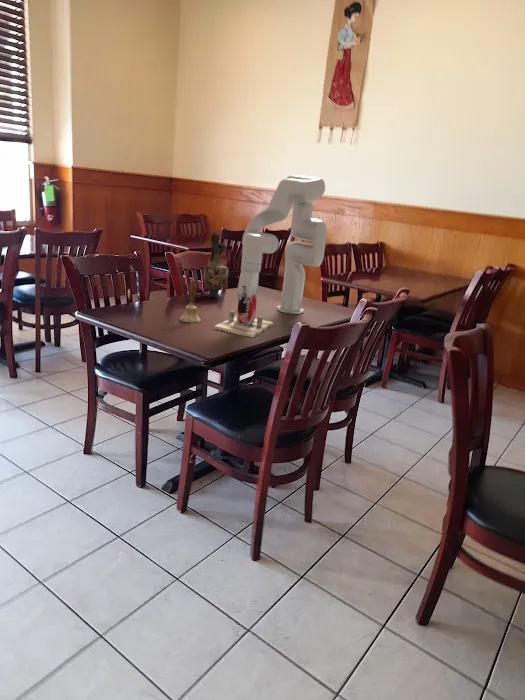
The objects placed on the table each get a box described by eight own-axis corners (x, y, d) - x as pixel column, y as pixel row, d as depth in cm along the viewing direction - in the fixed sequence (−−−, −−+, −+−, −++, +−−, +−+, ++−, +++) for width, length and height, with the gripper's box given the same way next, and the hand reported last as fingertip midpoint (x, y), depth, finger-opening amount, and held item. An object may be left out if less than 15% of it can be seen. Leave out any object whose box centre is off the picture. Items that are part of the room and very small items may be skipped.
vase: (207, 299, 236) (212, 234, 226) (197, 293, 246) (202, 231, 236) (230, 299, 241) (235, 236, 232) (219, 293, 251) (224, 232, 242)
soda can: (234, 324, 195) (237, 294, 191) (238, 320, 201) (241, 290, 198) (251, 327, 194) (255, 296, 190) (255, 322, 200) (258, 293, 196)
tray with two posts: (237, 317, 210) (238, 305, 208) (272, 325, 205) (274, 312, 203) (214, 329, 190) (215, 315, 188) (253, 337, 185) (254, 324, 184)
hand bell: (204, 319, 201) (207, 280, 196) (194, 324, 193) (197, 283, 188) (185, 315, 203) (188, 277, 198) (175, 320, 196) (178, 279, 191)
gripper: (250, 263, 199) (245, 304, 204) (232, 267, 183) (228, 312, 189) (267, 266, 197) (263, 308, 202) (251, 271, 181) (246, 316, 186)
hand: (246, 310), depth 195 cm, fingers open, 9 cm apart
